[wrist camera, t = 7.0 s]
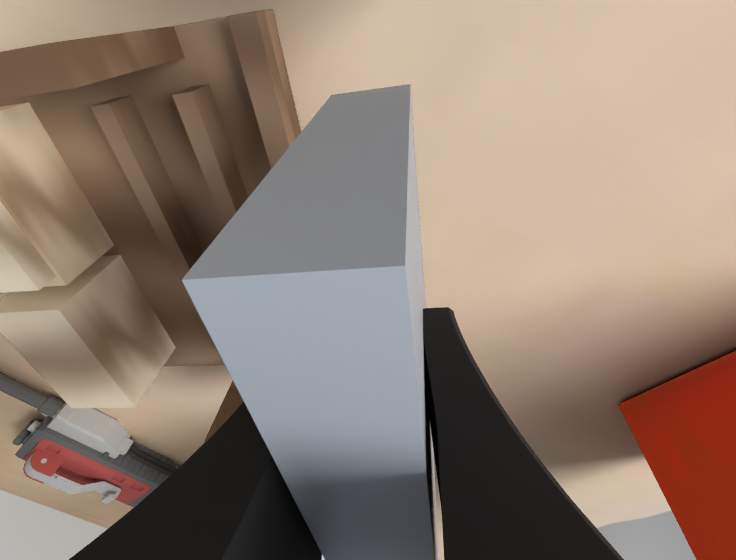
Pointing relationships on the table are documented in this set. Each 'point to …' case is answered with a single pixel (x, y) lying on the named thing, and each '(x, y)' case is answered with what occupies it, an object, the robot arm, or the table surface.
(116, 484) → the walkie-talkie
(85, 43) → the walnut rack
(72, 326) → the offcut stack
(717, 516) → the file binder
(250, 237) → the grey rectangular slab
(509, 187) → the table surface
